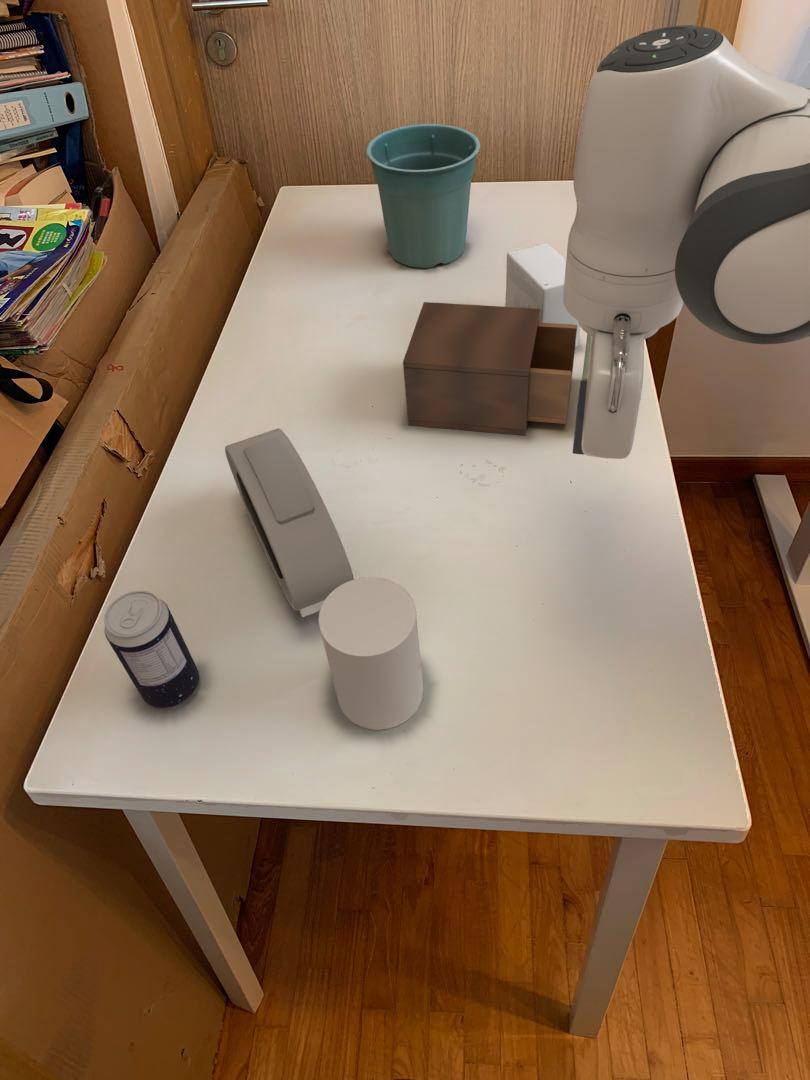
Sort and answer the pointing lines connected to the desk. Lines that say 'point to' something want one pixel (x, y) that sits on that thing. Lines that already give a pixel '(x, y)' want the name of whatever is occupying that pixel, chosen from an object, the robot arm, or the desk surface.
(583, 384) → the block
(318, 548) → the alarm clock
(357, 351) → the desk surface
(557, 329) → the drawer
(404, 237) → the flower pot
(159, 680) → the beverage can
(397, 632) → the white solid cylinder
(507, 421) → the cabinet
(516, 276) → the cosmetics box
